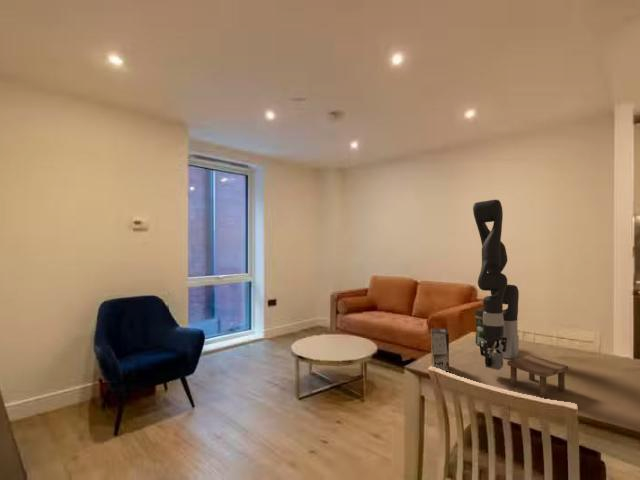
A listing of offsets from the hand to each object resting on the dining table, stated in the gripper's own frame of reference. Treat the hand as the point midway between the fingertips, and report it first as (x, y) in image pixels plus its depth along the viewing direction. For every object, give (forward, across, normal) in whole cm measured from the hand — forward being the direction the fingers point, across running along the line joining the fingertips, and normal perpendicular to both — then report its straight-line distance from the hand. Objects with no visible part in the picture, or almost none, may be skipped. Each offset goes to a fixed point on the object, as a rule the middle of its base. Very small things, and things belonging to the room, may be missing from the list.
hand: (493, 364), depth 146 cm
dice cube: (+1, 0, 0) cm, 1 cm away
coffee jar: (+6, -33, -29) cm, 44 cm away
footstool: (+5, -4, +15) cm, 16 cm away
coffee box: (+5, +11, -17) cm, 21 cm away
